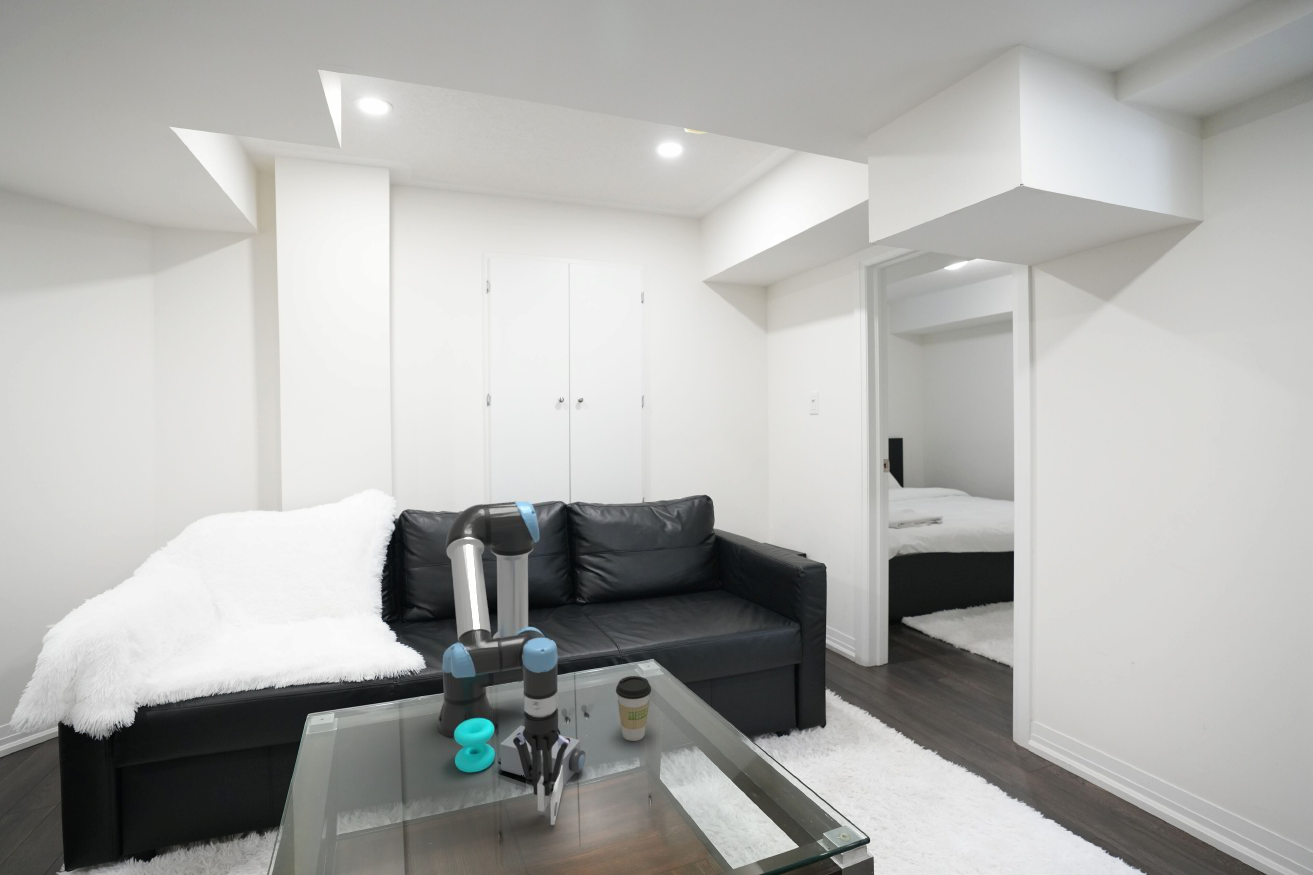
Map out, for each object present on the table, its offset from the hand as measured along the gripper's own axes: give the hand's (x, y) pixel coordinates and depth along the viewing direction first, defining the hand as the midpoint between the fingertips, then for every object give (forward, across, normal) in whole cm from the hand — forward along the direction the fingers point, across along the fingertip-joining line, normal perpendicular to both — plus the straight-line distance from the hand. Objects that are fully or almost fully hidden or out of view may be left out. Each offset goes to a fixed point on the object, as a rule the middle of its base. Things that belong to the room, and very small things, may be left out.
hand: (542, 806), depth 145 cm
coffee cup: (+3, +14, +35) cm, 38 cm away
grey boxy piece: (+2, -5, +17) cm, 18 cm away
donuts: (+3, -24, +16) cm, 29 cm away
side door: (+2, +2, +4) cm, 5 cm away
